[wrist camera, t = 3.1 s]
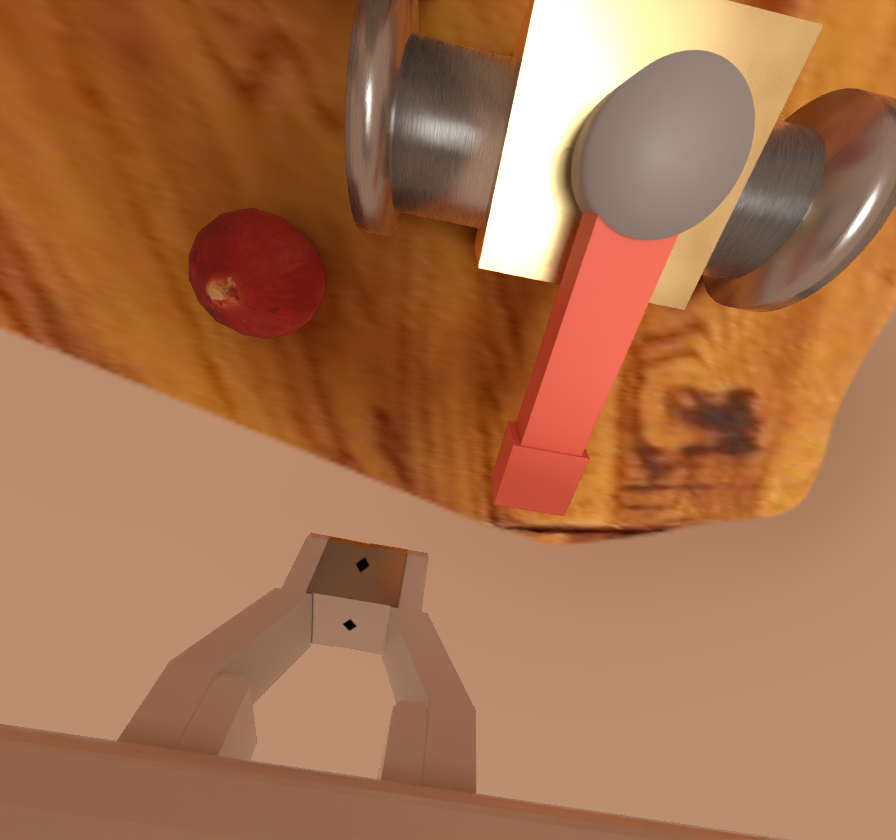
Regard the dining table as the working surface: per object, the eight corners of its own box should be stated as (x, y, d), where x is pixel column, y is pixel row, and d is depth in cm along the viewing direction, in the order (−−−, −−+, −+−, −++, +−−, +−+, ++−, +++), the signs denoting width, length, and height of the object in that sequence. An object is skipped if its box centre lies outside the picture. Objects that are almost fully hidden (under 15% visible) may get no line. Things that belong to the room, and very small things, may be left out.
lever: (600, 58, 11) (626, 31, 9) (738, 91, 11) (789, 71, 9) (480, 474, 18) (482, 504, 16) (565, 488, 18) (575, 519, 16)
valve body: (381, 225, 21) (334, 241, 13) (399, 24, 17) (346, -114, 9) (700, 291, 22) (823, 341, 14) (787, 116, 18) (1019, 59, 10)
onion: (287, 333, 24) (216, 388, 17) (217, 246, 22) (101, 269, 15) (362, 283, 22) (316, 322, 16) (295, 184, 20) (205, 177, 13)
